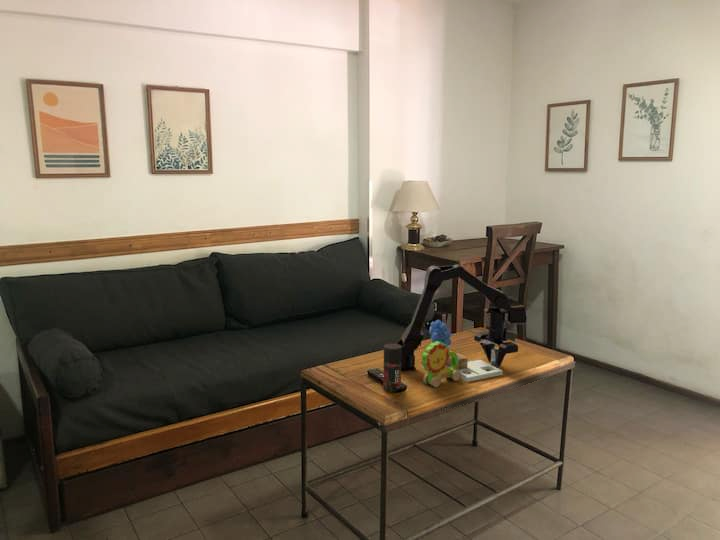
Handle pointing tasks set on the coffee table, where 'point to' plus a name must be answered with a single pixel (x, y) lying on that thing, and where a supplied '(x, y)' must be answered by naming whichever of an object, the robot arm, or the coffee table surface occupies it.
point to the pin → (493, 358)
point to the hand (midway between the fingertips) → (494, 364)
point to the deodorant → (392, 367)
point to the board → (478, 371)
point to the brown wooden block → (459, 361)
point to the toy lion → (439, 364)
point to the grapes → (440, 333)
